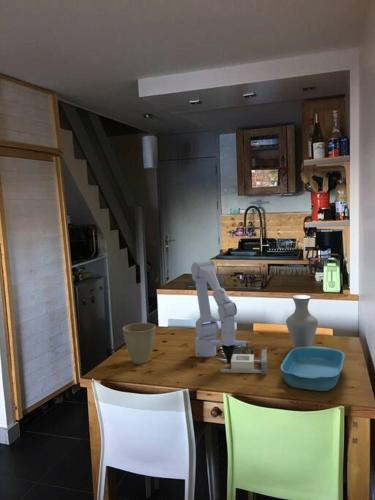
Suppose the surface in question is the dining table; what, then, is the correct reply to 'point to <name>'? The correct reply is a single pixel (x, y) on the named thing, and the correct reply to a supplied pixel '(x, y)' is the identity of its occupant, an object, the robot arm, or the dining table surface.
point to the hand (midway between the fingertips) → (229, 362)
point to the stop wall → (264, 362)
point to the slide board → (242, 369)
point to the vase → (301, 323)
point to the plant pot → (139, 341)
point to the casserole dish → (312, 367)
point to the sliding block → (242, 361)
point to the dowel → (246, 348)
